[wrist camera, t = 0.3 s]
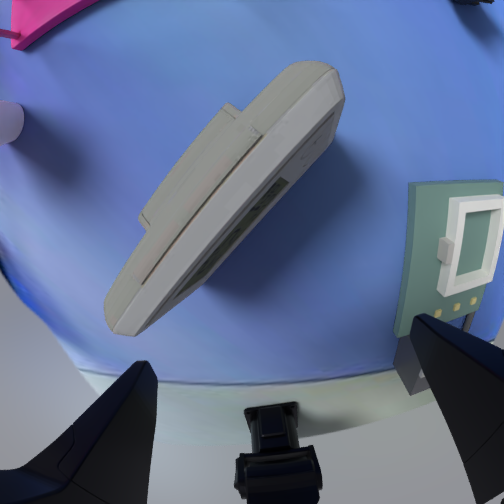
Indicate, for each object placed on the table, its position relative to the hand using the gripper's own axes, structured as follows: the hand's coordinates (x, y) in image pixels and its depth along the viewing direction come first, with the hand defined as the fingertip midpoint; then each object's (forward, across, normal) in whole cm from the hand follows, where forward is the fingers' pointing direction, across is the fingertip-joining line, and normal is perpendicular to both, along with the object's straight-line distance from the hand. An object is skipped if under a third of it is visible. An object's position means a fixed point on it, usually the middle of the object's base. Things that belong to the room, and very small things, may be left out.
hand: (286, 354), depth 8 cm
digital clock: (+14, +1, -3) cm, 15 cm away
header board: (+14, -20, +7) cm, 25 cm away
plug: (+14, -16, +18) cm, 28 cm away
